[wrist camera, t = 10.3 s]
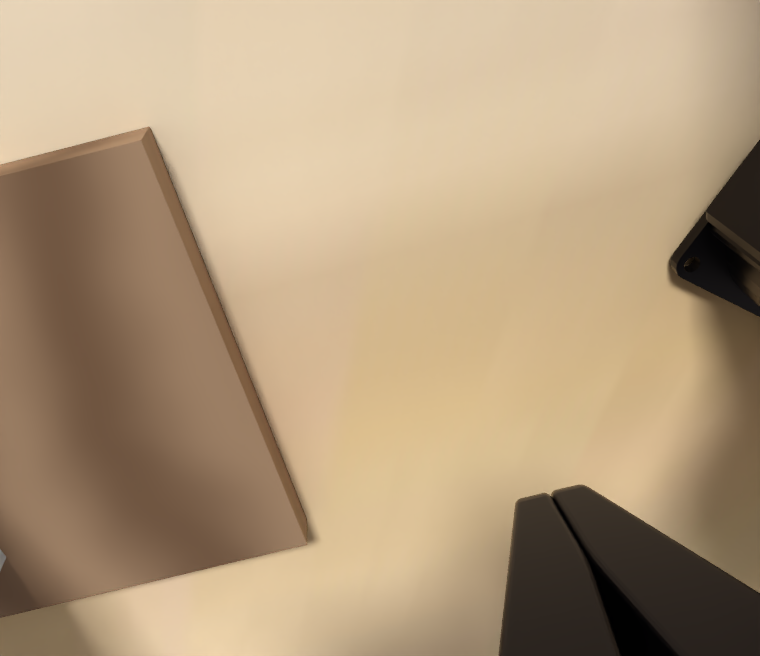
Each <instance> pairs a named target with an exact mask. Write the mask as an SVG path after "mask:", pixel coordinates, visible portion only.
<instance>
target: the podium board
mask: <svg viewBox="0 0 760 656" xmlns="http://www.w3.org/2000/svg"><path fill="white" fill-rule="evenodd" d="M303 545H307V519H306V517H305V514H304V512H303V509H302V507H301V504H300V502H299V499H298V497H297V494H296V492H295V489H294V487H293V484H292V482H291V479H290V477H289V474H288V472H287V469H286V467H285V464H284V462H283V459H282V457H281V454H280V452H279V449H278V447H277V444H276V442H275V439H274V437H273V434H272V432H271V429H270V427H269V424H268V422H267V419H266V417H265V414H264V412H263V409H262V407H261V404H260V402H259V399H258V397H257V394H256V392H255V389H254V387H253V384H252V382H251V379H250V377H249V374H248V372H247V369H246V367H245V364H244V362H243V359H242V357H241V354H240V352H239V349H238V347H237V344H236V342H235V339H234V337H233V334H232V332H231V329H230V327H229V324H228V322H227V319H226V317H225V314H224V312H223V309H222V307H221V304H220V302H219V299H218V297H217V294H216V292H215V289H214V287H213V284H212V282H211V279H210V277H209V274H208V272H207V269H206V267H205V264H204V262H203V259H202V257H201V254H200V252H199V249H198V247H197V244H196V242H195V239H194V237H193V234H192V232H191V229H190V227H189V224H188V222H187V219H186V217H185V214H184V212H183V209H182V207H181V204H180V202H179V199H178V197H177V194H176V192H175V189H174V187H173V184H172V182H171V179H170V177H169V174H168V172H167V169H166V167H165V164H164V162H163V159H162V157H161V154H160V152H159V149H158V147H157V144H156V142H155V139H154V137H153V134H152V132H151V129H150V127H146V128H142V129H139V130H135V131H131V132H127V133H123V134H119V135H115V136H111V137H107V138H103V139H99V140H96V141H92V142H88V143H84V144H80V145H76V146H72V147H68V148H64V149H60V150H56V151H53V152H49V153H45V154H41V155H37V156H33V157H29V158H25V159H21V160H17V161H13V162H9V163H6V164H2V165H0V550H1V551H2V552H3V554H4V555H5V556H6V559H5V561H4V564H3V566H2V568H1V571H0V618H1V617H5V616H10V615H14V614H18V613H22V612H26V611H31V610H35V609H39V608H43V607H47V606H52V605H56V604H60V603H64V602H68V601H72V600H77V599H81V598H85V597H89V596H93V595H98V594H102V593H106V592H110V591H114V590H119V589H123V588H127V587H131V586H135V585H140V584H144V583H148V582H152V581H156V580H161V579H165V578H169V577H173V576H177V575H182V574H186V573H190V572H194V571H198V570H203V569H207V568H211V567H215V566H219V565H224V564H228V563H232V562H236V561H240V560H245V559H249V558H253V557H257V556H261V555H266V554H270V553H274V552H278V551H282V550H287V549H291V548H295V547H299V546H303Z"/></svg>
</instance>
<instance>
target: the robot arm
mask: <svg viewBox="0 0 760 656" xmlns="http://www.w3.org/2000/svg"><path fill="white" fill-rule="evenodd" d="M692 257H694V259H693V261H692V263H691V264H689V265H688V266H685V267H684V264H685V262H686V261H687V260H688V259H689V258H692ZM670 265H671V268H672V270H673V271H674V272H675V273H676V274H678V275H679V276H680V277H681V278H683V279H685V280H687V281H689V282H691V283H693V284H695V285H697V286H699V287H701V288H703V289H705V290H707V291H709V292H711V293H713V294H715V295H717V296H719V297H721V298H723V299H725V300H727V301H729V302H731V303H733V304H735V305H737V306H739V307H741V308H743V309H745V310H747V311H749V312H751V313H753V314H755V315H757V316H759V317H760V140H759V142H758V143H757V144H756V146H755V147H754V148H753V149H752V151H751V152H750V153H749V155H748V156H747V157H746V159H745V160H744V161H743V162H742V164H741V165H740V166H739V168H738V169H737V170H736V172H735V173H734V174H733V176H732V177H731V178H730V179H729V181H728V182H727V183H726V185H725V186H724V187H723V189H722V190H721V191H720V192H719V194H718V195H717V196H716V198H715V199H714V200H713V202H712V203H711V204H710V206H709V207H708V208H707V210H706V212H705V213H704V214H703V215H702V217H701V218H700V219H699V221H698V222H697V223H696V225H695V226H694V227H693V229H692V230H691V231H690V232H689V234H688V235H687V236H686V238H685V239H684V240H683V242H682V243H681V244H680V245H679V247H678V248H677V249H676V251H675V252H674V253H673V255H672V257H671V261H670ZM499 656H760V593H758V592H757V591H755V590H754V589H752V588H750V587H749V586H747V585H746V584H744V583H742V582H741V581H739V580H737V579H736V578H734V577H733V576H731V575H729V574H728V573H726V572H725V571H723V570H721V569H720V568H718V567H716V566H715V565H713V564H712V563H710V562H708V561H707V560H705V559H704V558H702V557H700V556H699V555H697V554H695V553H694V552H692V551H691V550H689V549H687V548H686V547H684V546H683V545H681V544H679V543H678V542H676V541H675V540H673V539H671V538H670V537H668V536H666V535H665V534H663V533H662V532H660V531H658V530H657V529H655V528H654V527H652V526H650V525H649V524H647V523H645V522H644V521H642V520H641V519H639V518H637V517H636V516H634V515H633V514H631V513H629V512H628V511H626V510H624V509H623V508H621V507H620V506H618V505H616V504H615V503H613V502H612V501H610V500H608V499H607V498H605V497H604V496H602V495H600V494H599V493H597V492H595V491H594V490H592V489H591V488H589V487H587V486H585V485H575V486H571V487H567V488H562V489H558V490H555V491H553V492H552V494H551V496H550V495H549V494H546V493H541V494H537V495H533V496H529V497H525V498H521V499H519V500H518V501H517V502H516V504H515V512H514V521H513V530H512V539H511V548H510V557H509V566H508V575H507V584H506V593H505V602H504V611H503V620H502V629H501V638H500V647H499Z"/></svg>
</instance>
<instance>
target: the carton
mask: <svg viewBox="0 0 760 656" xmlns="http://www.w3.org/2000/svg"><path fill="white" fill-rule="evenodd" d="M5 559H6V556H5V555H4V554H3V552H2V551H1V550H0V571H1V568H2V566H3V564H4V561H5Z"/></svg>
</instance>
